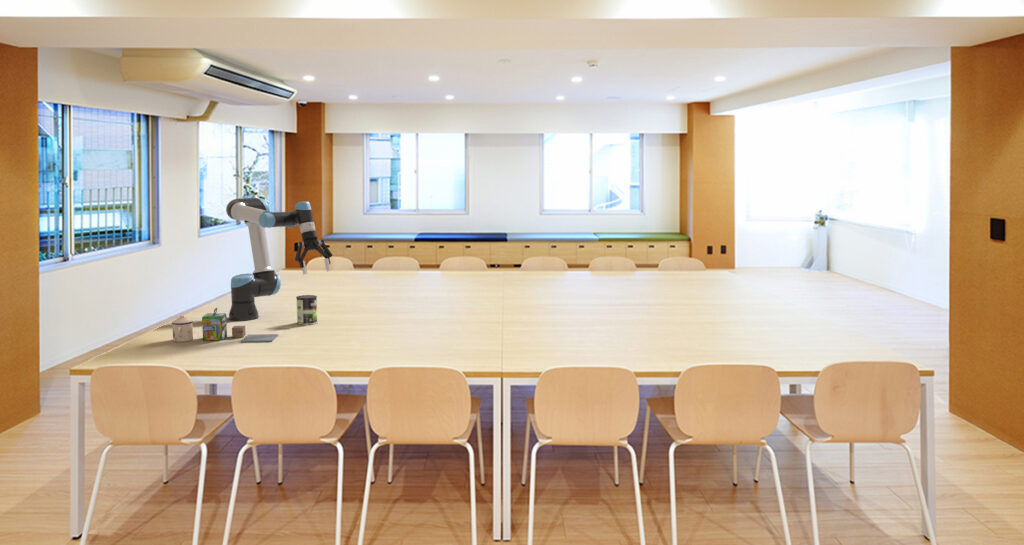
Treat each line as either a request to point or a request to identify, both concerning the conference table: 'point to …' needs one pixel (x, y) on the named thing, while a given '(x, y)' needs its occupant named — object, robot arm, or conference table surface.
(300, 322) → the coffee can
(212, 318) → the chalk box
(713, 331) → the conference table surface
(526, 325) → the conference table surface
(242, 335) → the walnut block
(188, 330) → the teacup with lid
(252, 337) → the slate mat
